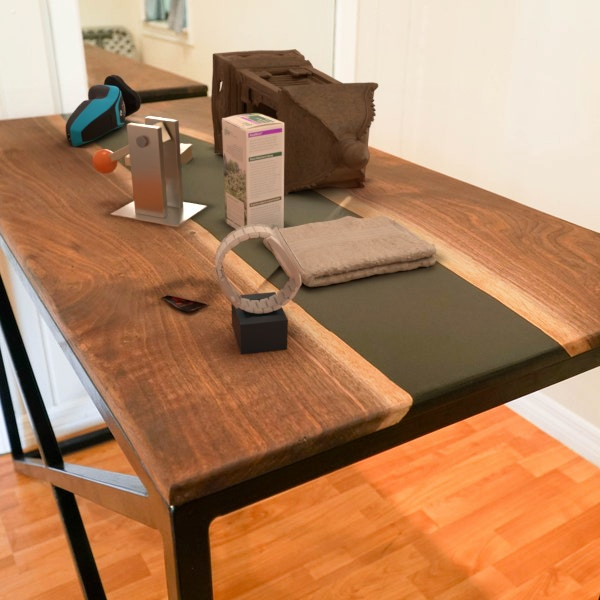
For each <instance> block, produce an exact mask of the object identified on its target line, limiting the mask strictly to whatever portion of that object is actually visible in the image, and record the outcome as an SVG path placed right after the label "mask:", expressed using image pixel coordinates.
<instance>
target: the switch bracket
mask: <svg viewBox="0 0 600 600" xmlns="http://www.w3.org/2000/svg"><path fill="white" fill-rule="evenodd" d="M160 122H162V123H163V125H164V127H165V129H166V131H167V132H168V134H169V136H170V138H171V139H170V140H169V141H167V142H165V143H163V140H162V127H158V126H152V125H155V124H157V123H160ZM179 123H180V122H179V119H174V118H166V117H158V116H152V115H148V116H146V117H144V124H142V123H135V122H130V123H127V124H126V133H127V143H128V144H127V145H129V155H130V165H131V166H130V174H131V183H132V184H131V185H132V194H133V201H131V202H129V203H127V204H125V205H123V206H121V207H120V208H118V209H117V210H114V211H113V212H111V213H110V216H112V217H116V218H117V217H118V218H121V219H122V218H123V219H127V220H128V219H129V220H134V221H137V222H144V223H150V224H155V225H159V226H165V227H170V228H176V229H178V228H179V227H180V226H182V225H184V224H185V223H187V222H188V221H190V220H191V219H193V218H194V217H195V216H197V215H198V214H200V213H202V212H203V211H205V210H206V209H207V208H208V206H207V205H203V204H197V203H191V202H185V201H184V193H183V192H184V191H183V176H182V163H181V156H180V143H181V141H180V124H179Z"/></svg>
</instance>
